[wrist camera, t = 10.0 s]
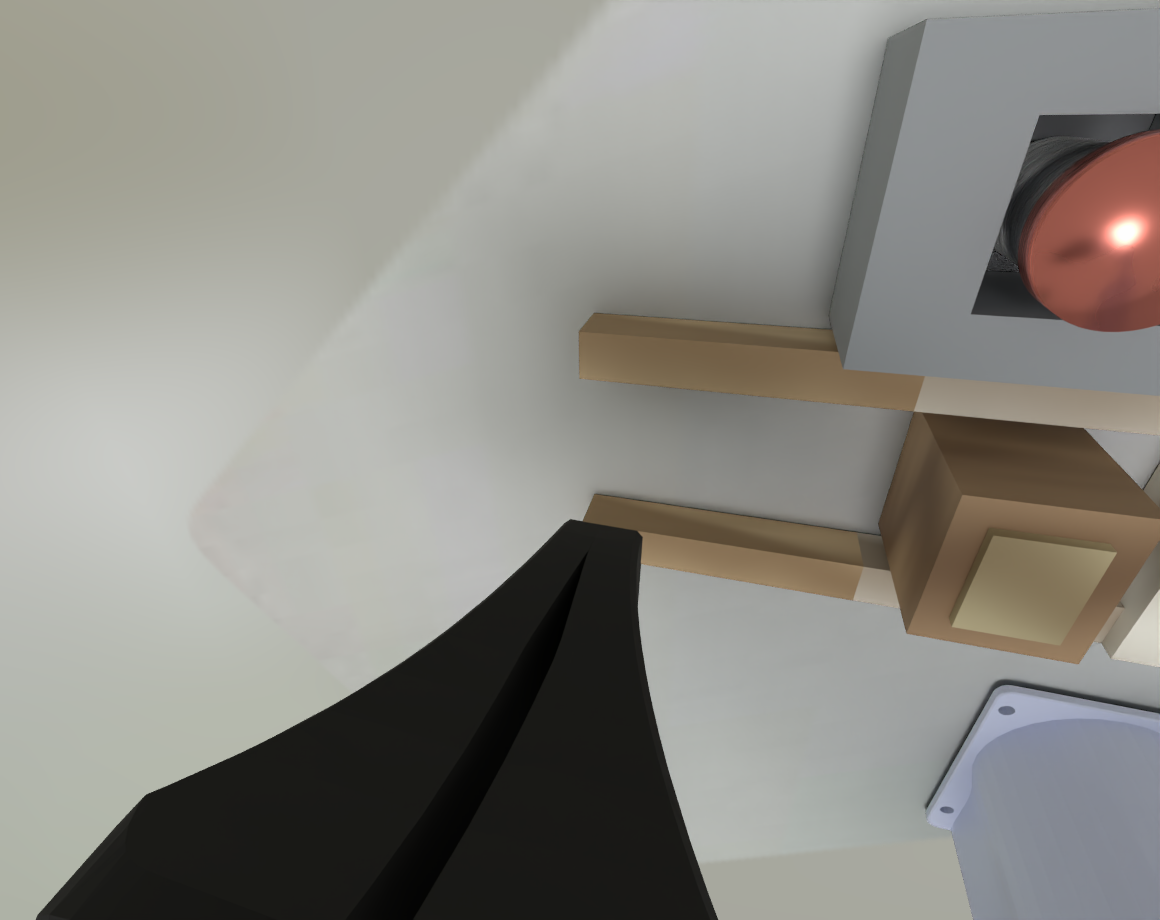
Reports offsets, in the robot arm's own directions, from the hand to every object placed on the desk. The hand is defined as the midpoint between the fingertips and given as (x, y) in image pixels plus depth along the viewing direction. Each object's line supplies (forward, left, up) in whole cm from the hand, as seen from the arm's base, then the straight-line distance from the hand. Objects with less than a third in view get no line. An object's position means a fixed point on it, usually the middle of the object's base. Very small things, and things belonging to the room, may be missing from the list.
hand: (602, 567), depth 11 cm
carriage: (-3, -9, -10) cm, 14 cm away
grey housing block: (+5, -8, -10) cm, 14 cm away
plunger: (+5, -8, -9) cm, 14 cm away
